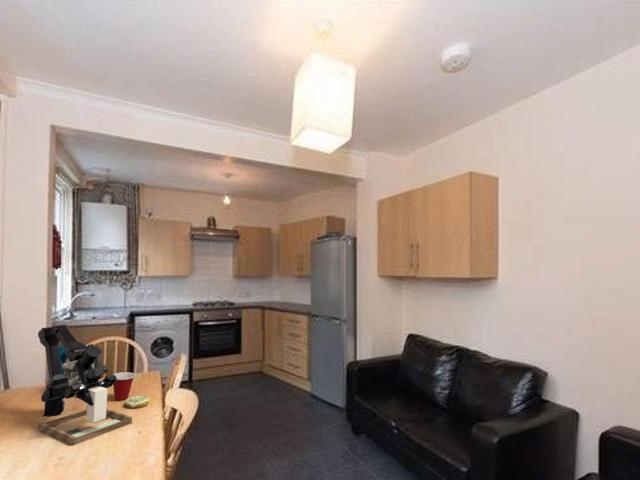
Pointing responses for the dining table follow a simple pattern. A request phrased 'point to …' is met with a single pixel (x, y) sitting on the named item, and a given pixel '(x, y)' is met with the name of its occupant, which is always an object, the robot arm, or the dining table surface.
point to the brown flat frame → (74, 440)
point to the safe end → (96, 428)
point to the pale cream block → (97, 404)
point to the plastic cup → (122, 385)
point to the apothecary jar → (71, 372)
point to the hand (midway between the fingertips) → (99, 403)
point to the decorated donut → (137, 401)
